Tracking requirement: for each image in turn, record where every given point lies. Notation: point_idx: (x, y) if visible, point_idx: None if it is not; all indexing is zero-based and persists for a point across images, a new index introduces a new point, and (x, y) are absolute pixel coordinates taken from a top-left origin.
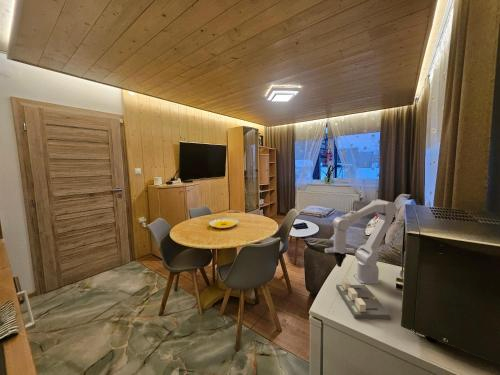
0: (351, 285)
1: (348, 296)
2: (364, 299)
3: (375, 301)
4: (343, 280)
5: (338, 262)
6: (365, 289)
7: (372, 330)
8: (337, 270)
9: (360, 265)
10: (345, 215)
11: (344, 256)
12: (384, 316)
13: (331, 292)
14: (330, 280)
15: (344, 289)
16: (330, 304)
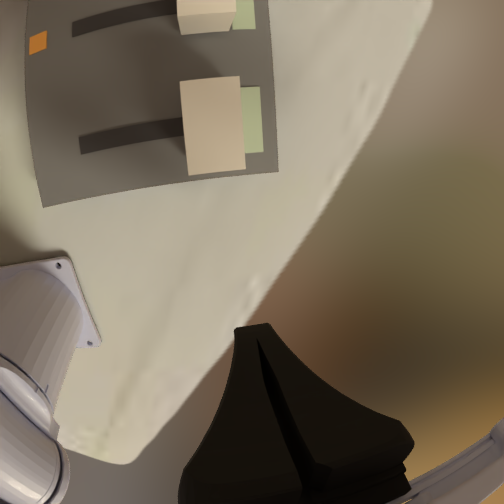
0: (145, 176)
1: None
2: (112, 4)
3: (48, 9)
4: (238, 143)
5: (295, 360)
6: (52, 140)
7: None
8: (196, 377)
9: (28, 372)
10: None
11: (226, 472)
12: None
13: (321, 114)
14: (279, 265)
15: None
16: (359, 3)
